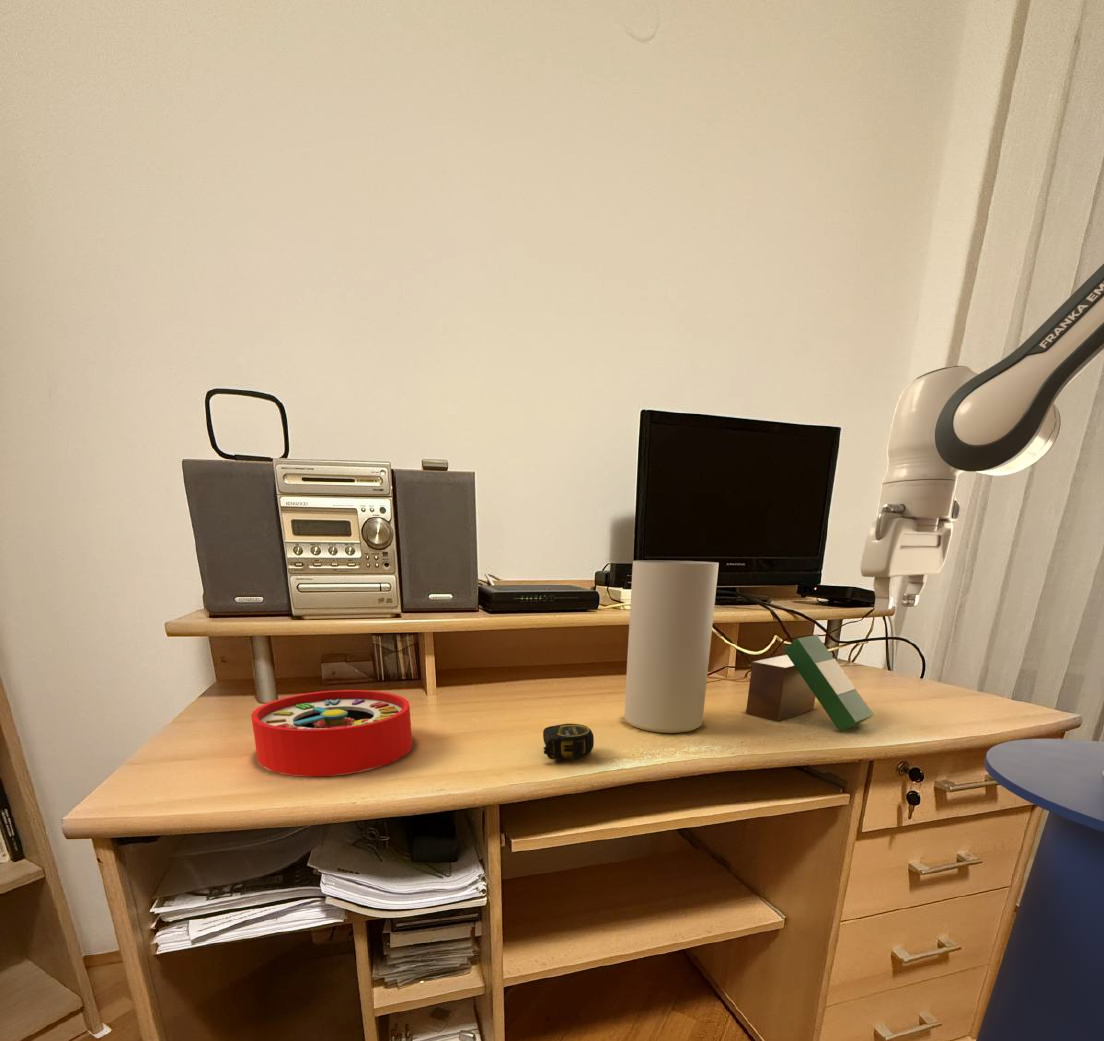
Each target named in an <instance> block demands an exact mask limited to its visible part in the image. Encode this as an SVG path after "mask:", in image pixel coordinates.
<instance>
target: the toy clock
mask: <svg viewBox="0 0 1104 1041" xmlns="http://www.w3.org/2000/svg"><path fill="white" fill-rule="evenodd" d="M410 707H411V706H410V702H409V700H407V698H405V697H403V696H401V695H399V694H398V695H397V694H395V693H391V692H385V691H377V690H367V689H338V690H323V691H315V692H306V693H301V694H296V695H291V696H287V697H282V698H279V699H276V700H272V701H270V702H267V703H264V704H262V705H260V706H259V707H256V709H254V710H253V711H252V713H251V714H250V716H251V717H250V718H251V723H252V724H251V725H252V731H253V737H254V744H255V750H256V757H257V762H258V764H259V765H260V767H262V768H265V770H267V771H269V772H273V773H275V774H282V775H285V776H295V777H312V778H313V777H331V776H341V775H348V774H349V775H351V774H354V773H361V772H365V771H370V770H374V769H377V768H380V767H384V766H386V765H390V764H392V763H394V762H396V761H398V760H399V759H401V758H403V757H404V756H406V755H407V754H408V753H410V751H411V750H412V747H413V736H412V725H411V724H412V720H411V708H410Z"/></svg>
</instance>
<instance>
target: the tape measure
mask: <svg viewBox="0 0 1104 1041" xmlns="http://www.w3.org/2000/svg"><path fill="white" fill-rule="evenodd" d="M542 738H543V742H544V743H543V744H544V745H545V746H543V754H544V755H546V756H547V758H548V759H550V760H556V759H565V760H566V759H567V760H575V759H580V758H585V757H587V756H589V755H590V754H591V753H592V752H593V749H594V747H595V746H594V744H595V737H594V733H593V731H592V729H591V728H590V727H589V726H587V725H584V724H579V723H562V724H556V725H549V726H547V727H545V728H544V729H543V731H542Z"/></svg>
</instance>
